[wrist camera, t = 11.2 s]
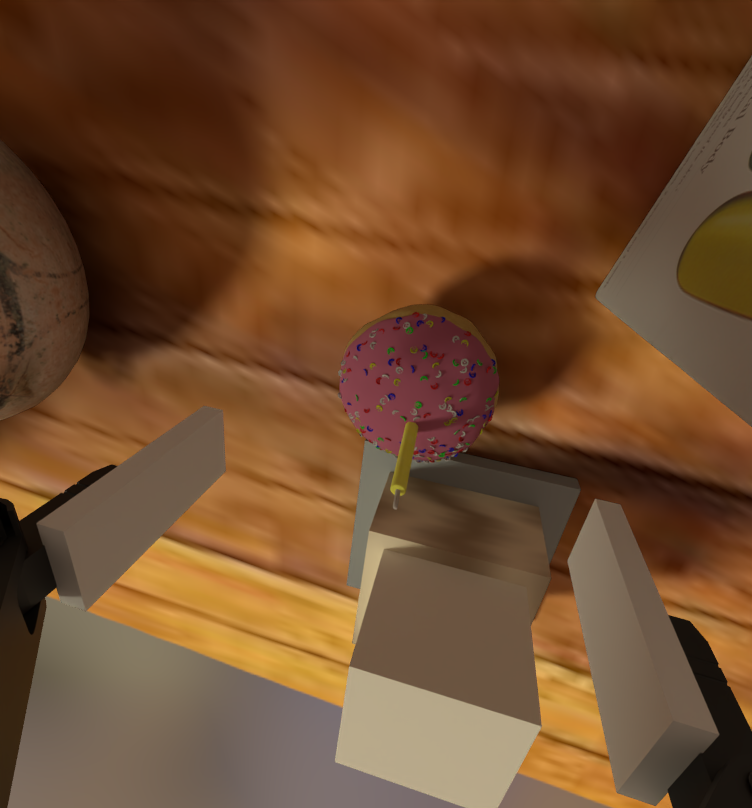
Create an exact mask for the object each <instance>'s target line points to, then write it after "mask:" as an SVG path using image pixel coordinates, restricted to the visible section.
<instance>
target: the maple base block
mask: <svg viewBox="0 0 752 808" xmlns="http://www.w3.org/2000/svg"><path fill="white" fill-rule="evenodd" d="M393 475H394V473H393V472H390V473H389V476H388V479H387V481H386V484H385V487H384V490H383V493H382V496H381V498H380V501H379V504H378V507H377V510H376V512H375V515H374V518H373V521H372V524H371V527H370V529H369V534H368V541H367V548H366V554H365V561H364V568H363V574H362V581H361V588H360V594H359V601H358V608H357V615H356V621H355V628H354V635H353V641H352V643H353V644H356V642H357V638H358V635H359V632H360V628H361V625H362V621H363V618H364V615H365V611H366V608H367V604H368V601H369V598H370V594H371V591H372V587H373V584H374V580H375V577H376V574H377V570H378V567H379V563H380V560H381V557H382V553H383V550H384V549H386V550H390V551H394V552H397V553H401V554H405V555H409V556H412V557H416V558H420V559H424V560H427V561H431V562H435V563H439V564H442V565H446V566H450V567H454V568H457V569H461V570H465V571H469V572H472V573H476V574H480V575H484V576H487V577H491V578H495V579H499V580H502V581H506V582H510V583H514V584H517V585H521V586H525V587H527V596H528V605H529V615H530V624H532V622H533V620H534V617H535V615H536V613H537V610H538V608H539V606H540V603H541V601H542V599H543V597H544V594H545V592H546V590H547V587H548V585H549V583H550V580H551V573H550V568H549V562H548V556H547V551H546V545H545V539H544V534H543V528H542V523H541V517H540V511H539V507H537V506H532V505H528V504H524V503H520V502H515V501H511V500H507V499H503V498H499V497H494V496H490V495H486V494H482V493H478V492H473V491H469V490H465V489H461V488H456V487H452V486H448V485H444V484H440V483H435V482H431V481H427V480H423V479H419V478H414V477H410V476H409V478H408V483H407V488H406V492H405V494H404V495H402V496H400V498H399V503H398V508H397V509H396V510H395V509H394V508H393V502H394V497H395V495H394V494H393V493H392V492H391V490H390V488H391V483H392V479H393Z"/></svg>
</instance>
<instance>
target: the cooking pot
mask: <svg viewBox="0 0 752 808" xmlns="http://www.w3.org/2000/svg"><path fill="white" fill-rule="evenodd" d="M88 322H89V292H88V286H87V281H86V276H85V270H84V266H83V263H82V260H81V257H80V254H79V251H78V248H77V245H76V243H75V241H74V238H73V236H72V234H71V232H70V230H69V228H68V225H67V223H66V221H65V219H64V218H63V216H62V214H61V213H60V211H59V209H58V208H57V206H56V205H55V203H54V201H53V200H52V198H51V196H50V195H49V193H48V192H47V191H46V189H45V188H44V187H43V186H42V184H41V183H40V182H39V180H38V179H37V178H36V176H35V175H34V174H33V173H32V171H31V170H30V169H29V168H28V167H27V166H26V165H25V164H24V163H23V161H22V160H21V159H20V158H19V157H18V156H17V155H16V154H15V153H14V152H13V151H12V150H11V149H10V148H9V147H8V146H7V145H6V144H5V143H4V142H3V141H2V140H0V420H3V419H6V418H9V417H11V416H13V415H16V414H18V413H20V412H23V411H25V410H27V409H30V408H32V407H34V406H36V405H37V404H39V403H40V402H41V401H43V400H44V399H45V398H46V397H48V396H49V395H50V394H51V393H52V392H54V391H55V390H56V389H57V388H58V387H59V386H60V385H61V384H62V382H63V381H64V380H65V379H66V377H67V376H68V374H69V373H70V371H71V370H72V368H73V367H74V365H75V364H76V362H77V361H78V359H79V356H80V354H81V351H82V348H83V346H84V343H85V340H86V336H87V329H88Z"/></svg>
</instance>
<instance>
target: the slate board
mask: <svg viewBox="0 0 752 808" xmlns="http://www.w3.org/2000/svg"><path fill="white" fill-rule="evenodd" d="M446 459H447V458H446ZM447 460H448V459H447ZM434 461H435V462H434V463H432V462H430V461H429V463H425V462H424V461H423V462H421V463H416V462H415V460H413V459H412V463H411V468H410V473H409V476H410V477H414V478H419V479H423V480H427V481H431V482H435V483H440V484H444V485H448V486H452V487H456V488H461V489H465V490H469V491H473V492H478V493H482V494H486V495H490V496H494V497H499V498H503V499H507V500H511V501H515V502H520V503H524V504H528V505H532V506H537V507H539V511H540V517H541V523H542V528H543V534H544V539H545V545H546V551H547V556H548V562H549V564H550V562H551V560H552V557H553V555H554V552H555V550H556V548H557V545H558V543H559V541H560V538H561V536H562V533H563V531H564V529H565V526H566V524H567V522H568V519H569V517H570V514H571V512H572V510H573V507H574V505H575V503H576V500H577V498H578V495H579V493H580V491H581V489H580V486H579V483H578V480H577V479H575V478H571V477H566V476H562V475H557V474H553V473H548V472H544V471H539V470H535V469H531V468H526V467H522V466H517V465H513V464H508V463H504V462H499V461H495V460H491V459H486V458H482V457H477V456H473V455H468V454H464V453H458V456H456V457H454V456H453V457H452V456H451V459H450V460H449V461H445V458H443V459H442V460H441V461H439V462H437V461H436V460H434ZM417 462H418V460H417ZM426 462H427V461H426ZM396 463H397V458H395V457H394V456H393V454H391V453H386V452H384V451H383V450H379V449H377V448H376V447H375V446H374V445H373V444H372V443H370V442H369V441H368V440H367V439H366V440H365V446H364V453H363V461H362V469H361V477H360V485H359V493H358V500H357V508H356V516H355V524H354V532H353V539H352V547H351V555H350V563H349V571H348V579H347V585H348V586H351V587H355V588H359V589H360V588H361V581H362V574H363V568H364V561H365V554H366V548H367V541H368V534H369V529H370V527H371V524H372V521H373V518H374V515H375V512H376V510H377V507H378V504H379V501H380V498H381V496H382V493H383V490H384V487H385V484H386V481H387V479H388V476H389V473H390V472H393V473H394V471H395V467H396Z"/></svg>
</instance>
